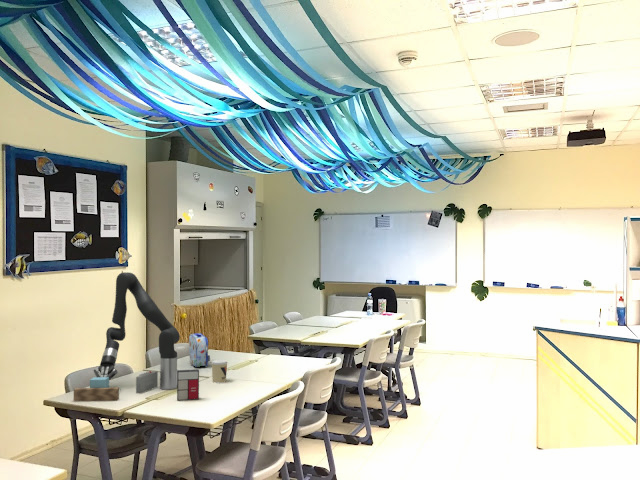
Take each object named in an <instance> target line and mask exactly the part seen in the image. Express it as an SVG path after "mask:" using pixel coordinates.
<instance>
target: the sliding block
mask: <svg viewBox="0 0 640 480" xmlns="http://www.w3.org/2000/svg"><path fill="white" fill-rule="evenodd" d="M89 388H110V380H109V377H97V376H95V377H94V376H93V377H92V378H91V379H89Z"/></svg>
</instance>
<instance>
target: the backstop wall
mask: <svg viewBox="0 0 640 480" xmlns="http://www.w3.org/2000/svg"><path fill="white" fill-rule="evenodd" d="M119 399H120V387H109V388H90V387H75V388H74V389H73V402H99V401H100V402H104V401H105V402H107V401H108V402H109V401H110V402H111V401H115V402H116V401H119Z"/></svg>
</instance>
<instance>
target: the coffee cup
mask: <svg viewBox="0 0 640 480" xmlns="http://www.w3.org/2000/svg"><path fill="white" fill-rule="evenodd" d="M227 370H228V361H227V360H226V359H215V360H211V376H212V379H211V380H212V383H214V382H223V383H225V382H224V381H227Z"/></svg>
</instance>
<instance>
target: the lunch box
mask: <svg viewBox="0 0 640 480" xmlns="http://www.w3.org/2000/svg"><path fill="white" fill-rule="evenodd" d="M188 353H189V354H188V355H189V356H188V357H189V360H190V363H191V365H192V366H193V367H194V366H195V368H201V367H200V366H207V367H208V365H209V362H210V361H211V356H210V355H209V341H208V337H207V336H205V335H204V334H203V333H201V332H199V333H191V334H189V337H188Z"/></svg>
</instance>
